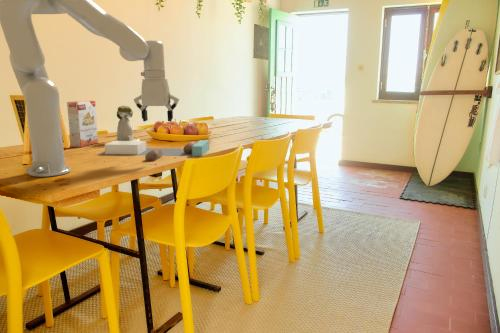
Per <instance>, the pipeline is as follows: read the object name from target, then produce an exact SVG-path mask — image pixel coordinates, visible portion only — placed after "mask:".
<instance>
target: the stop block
mask: <svg viewBox="0 0 500 333" xmlns="http://www.w3.org/2000/svg"><path fill="white" fill-rule="evenodd" d="M209 150H210V140H207V139H206V140H205V139H204V140H203V139H200V140H198V141H197V142H196V144H194V145H193V146H192V156H191V157H203V156H204V155H206V153H207V152H209Z"/></svg>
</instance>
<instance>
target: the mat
mask: <svg viewBox="0 0 500 333" xmlns="http://www.w3.org/2000/svg"><path fill="white" fill-rule="evenodd" d="M154 149H156V147H154V148H153V147H152V148H151V147H146V151H144V152H142V153H140V154H138V155H137V156H146V154H147V153H149V152H150V151H152V150H154ZM159 149H161V150H162V153H163V154H162V156H161V157H163V156H164V157H166V156H168V157H193V156H192V153H191V154H186V153H185V152H184V148H163V147H162V148H161V147H159ZM98 155H101V156H102V155H107V156H110V155H113V156H136V155H135V154H105V150H104V151H102V152H99V153H98Z"/></svg>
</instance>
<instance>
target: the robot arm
mask: <svg viewBox="0 0 500 333" xmlns="http://www.w3.org/2000/svg"><path fill="white" fill-rule="evenodd" d="M65 14H67V15H68V16H69V17H71V18H72V19H73V20H75V21H76V22H77V23H79V24H80V25H81V26H82V27H83V28H85V30H87V31H89V32H90V33H92V34H94V35H96V36H98V37H102V38H104V39H106V40H108V41H111V42H112V43H114V44H115V45H117V46H118V47H119V48H118V51H119V54H120V56H121V58H122V59H123V60H125V61H127V62H137V61H143V71H142V72H140V76H141V77H143V78H144V79H143V78H142V81H141V93H140V95H139V96H137V97H135V98H133V102H134V104H135V105H136V107H137V108H138V109H139V110H140V113H141V119H142V121H143V122H147V121H148V120H149V119H148V110H147V108H148V107H166V109H167V112H166V113H167V121H168V122H172V121H173V119H174V115H173V113H174V112H173V110H175V108H176V107H177V106H178V104H179V101H180V99H179V98H178V97H176V96H174V95H172V94H171V93H170V92H171V91H170V86H169V82H168V79H167V78H166V71H165V70H166V69H165V50H164V49H165V48H164V44H163V42H162V41H161V40H145V39H144V38H143V37H142V36H141V35H139V34H138V32H136V31H134V30H133V29H132V28H131V27H130V26H128V25H127V24H125V23H124V22H122V21H121V20H119V19H117V18H116V17H114V16H113V15H111V14H110V13H108V12H106V11H105V10H104V9H103V8H101V7H100V6H99V5H98V4H97V3H95V2H94V1H93V0H0V26H1V30H2V32H3V35H4V39H5V41H6V44H7V46H8V50H9V61H10V62H9V63H10V65H11V67H12V71H13V73H14V76H15V78H16V81H17V84H18V86H19V89H20V92H21V93H22V96H23V97H24V99H25V105H26V118H27V124H28V131H29V132H28V133H29V142H30V148H31V156H32V162H31V166H29V167H26V168H25V172H26V173H27V174H28V175H29V176H32V177H39V178H40V177H42V178H43V177H45V178H46V177H56V176H61V175H65V174H68V173H69V172H71V171H72V169H71V167H70V166H69V165H66V160H65V159H66V158H65V150H64V140H63V130H62V123H61V113H60V109H61V108H60V92H59V89H58V87H57V86H56V83H55V82H53V81H52V80H51V79H50V78H49V76H48V72H47V70H46V66H45V62H46V56H45V54H44V52H43V50H42V48H41V45H40V41H39V39H38V37H37V34H36V30H35V27H34V24H33V21H32V15H65ZM171 100H172V101H173V104H171ZM140 101H141V103H140Z"/></svg>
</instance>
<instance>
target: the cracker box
mask: <svg viewBox="0 0 500 333" xmlns="http://www.w3.org/2000/svg"><path fill="white" fill-rule="evenodd" d="M66 107H67V118H68V129H69V140H70V148H83V147H87V145H88V146H91V144H92V145H96V144H98V143H99V139H98V138H99V137H98V123H97V108H96V107H97V106H96V101H95V100H75V101H74V100H73V101H67V102H66Z"/></svg>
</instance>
